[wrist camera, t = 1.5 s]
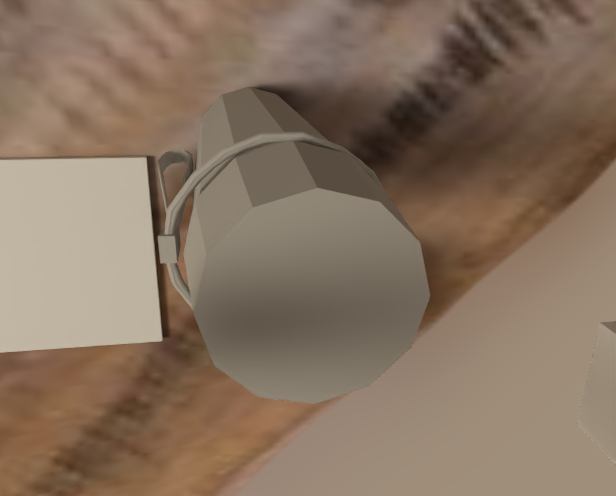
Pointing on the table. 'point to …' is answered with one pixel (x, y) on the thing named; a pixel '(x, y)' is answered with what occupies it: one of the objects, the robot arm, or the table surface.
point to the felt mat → (76, 253)
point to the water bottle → (291, 254)
